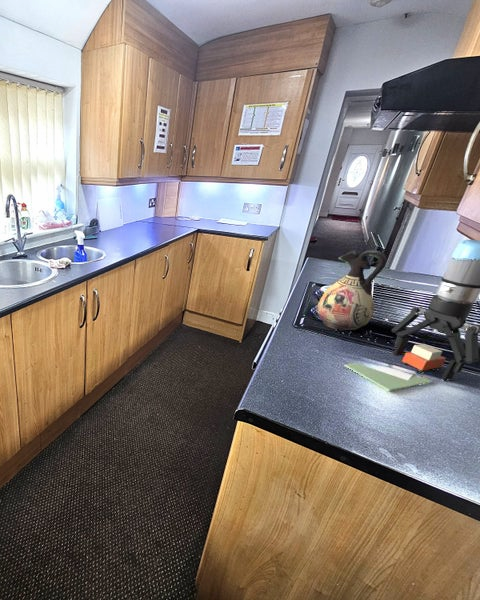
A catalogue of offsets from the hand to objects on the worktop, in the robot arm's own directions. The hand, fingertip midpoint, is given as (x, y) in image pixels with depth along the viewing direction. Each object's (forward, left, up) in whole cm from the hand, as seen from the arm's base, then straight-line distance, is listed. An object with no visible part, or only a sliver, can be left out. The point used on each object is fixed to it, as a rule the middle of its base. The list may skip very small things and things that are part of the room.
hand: (419, 367), depth 95 cm
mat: (+10, +8, 0) cm, 13 cm away
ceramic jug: (+14, -21, 0) cm, 25 cm away
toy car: (0, 0, 0) cm, 0 cm away
